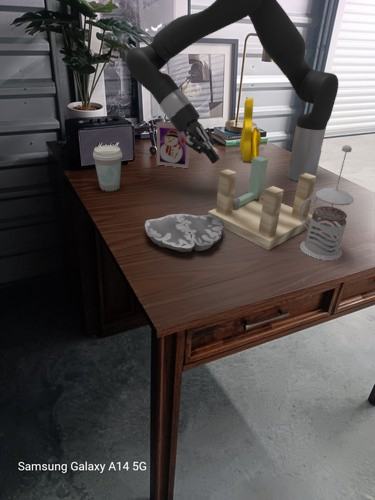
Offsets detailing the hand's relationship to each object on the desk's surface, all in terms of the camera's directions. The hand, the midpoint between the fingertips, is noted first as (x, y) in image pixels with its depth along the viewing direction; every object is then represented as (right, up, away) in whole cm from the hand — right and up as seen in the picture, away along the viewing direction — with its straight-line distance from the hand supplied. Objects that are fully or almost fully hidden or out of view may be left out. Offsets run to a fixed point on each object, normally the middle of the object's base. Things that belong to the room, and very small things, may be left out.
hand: (216, 161), depth 111 cm
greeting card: (-13, +5, +29) cm, 32 cm away
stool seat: (+11, -18, -8) cm, 22 cm away
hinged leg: (+8, -12, -3) cm, 15 cm away
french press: (+23, -25, -18) cm, 38 cm away
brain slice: (-8, -23, -16) cm, 29 cm away
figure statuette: (+15, +9, +37) cm, 40 cm away
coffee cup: (-32, -6, +8) cm, 34 cm away
